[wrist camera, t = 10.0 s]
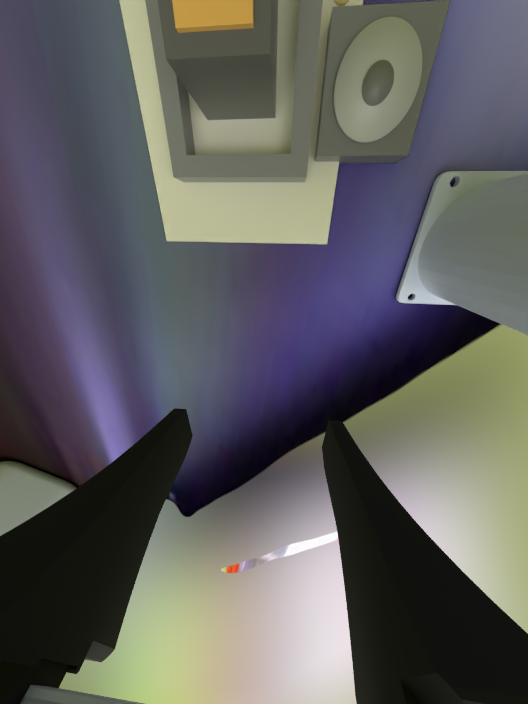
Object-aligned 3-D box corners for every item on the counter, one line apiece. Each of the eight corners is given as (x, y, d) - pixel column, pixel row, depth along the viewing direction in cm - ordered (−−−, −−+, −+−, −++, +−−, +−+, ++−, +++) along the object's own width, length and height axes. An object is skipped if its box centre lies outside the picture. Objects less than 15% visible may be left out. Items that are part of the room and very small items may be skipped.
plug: (278, -31, 10) (274, -264, 5) (275, 118, 12) (269, 49, 7) (195, -24, 10) (119, -240, 5) (207, 120, 12) (163, 55, 8)
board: (401, -274, 7) (436, -423, 6) (325, 244, 15) (331, 245, 14) (80, -227, 8) (27, -345, 6) (169, 240, 16) (156, 241, 14)
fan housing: (429, 29, 10) (459, -12, 9) (395, 163, 13) (413, 152, 11) (327, 34, 11) (335, -5, 9) (313, 163, 13) (318, 152, 11)
